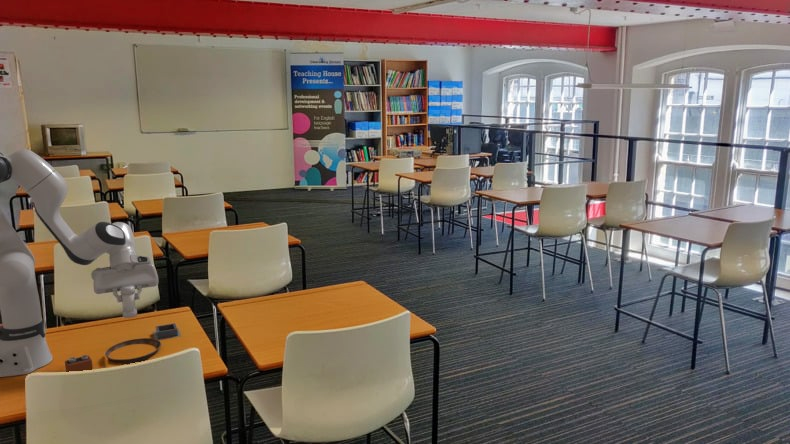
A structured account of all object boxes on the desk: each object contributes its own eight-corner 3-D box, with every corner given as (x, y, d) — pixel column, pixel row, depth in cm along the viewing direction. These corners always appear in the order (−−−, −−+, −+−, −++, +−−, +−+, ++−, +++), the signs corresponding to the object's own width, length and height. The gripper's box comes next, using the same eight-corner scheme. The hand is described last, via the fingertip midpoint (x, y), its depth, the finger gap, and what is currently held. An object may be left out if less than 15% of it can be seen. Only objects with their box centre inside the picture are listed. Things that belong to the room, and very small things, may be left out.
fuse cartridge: (123, 318, 198) (120, 290, 196) (122, 314, 202) (119, 286, 200) (137, 316, 200) (134, 288, 198) (136, 312, 204) (133, 284, 202)
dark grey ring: (100, 370, 194) (99, 361, 193) (112, 349, 211) (111, 340, 210) (158, 364, 198) (157, 355, 197) (165, 343, 215) (164, 335, 214)
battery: (67, 388, 181) (64, 357, 179) (92, 382, 185) (88, 352, 183) (70, 393, 178) (66, 362, 176) (95, 387, 182) (91, 356, 180)
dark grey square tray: (155, 343, 214) (154, 334, 213) (153, 335, 222) (152, 325, 221) (181, 339, 218) (180, 329, 217) (178, 330, 226) (177, 321, 225)
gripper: (90, 264, 199) (93, 300, 193) (155, 256, 208) (160, 291, 202) (91, 273, 204) (94, 309, 197) (155, 266, 213) (160, 299, 207)
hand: (128, 300), depth 200 cm, fingers closed on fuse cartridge, 4 cm apart
